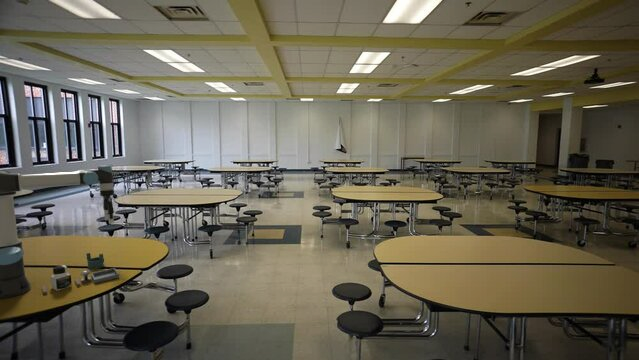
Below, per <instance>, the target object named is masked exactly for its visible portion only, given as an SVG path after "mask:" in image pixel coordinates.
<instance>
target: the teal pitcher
mask: <svg viewBox="0 0 639 360" xmlns="http://www.w3.org/2000/svg"><path fill="white" fill-rule="evenodd" d="M85 255H86V261H87V270H98V269H102V268H103V267H104V263H105V258H104V254H103V253H99V255H98V256H95V257H92V258H91V253H90V252H87V253H86V254H85Z"/></svg>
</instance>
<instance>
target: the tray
mask: <svg viewBox="0 0 639 360" xmlns="http://www.w3.org/2000/svg"><path fill="white" fill-rule="evenodd" d="M90 277H91V281H92V282H93V284H94V285H96V284H101V283H104V282H109V281H113V280H117V279H120V274H119V272H118V271H117V269H116V268H115V267H113V268H110V269H104V270H100V271H95V272H92V273H91V272H90Z"/></svg>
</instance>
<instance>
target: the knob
mask: <svg viewBox="0 0 639 360" xmlns="http://www.w3.org/2000/svg"><path fill="white" fill-rule="evenodd" d="M88 275H91V269H85V270H81V271H80V276H83V277H82V278H81V279H80V282H81V283H86V282H91V281H92V278H91V276H88Z"/></svg>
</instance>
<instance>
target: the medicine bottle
mask: <svg viewBox="0 0 639 360" xmlns="http://www.w3.org/2000/svg"><path fill="white" fill-rule="evenodd" d="M52 273H53V275H52V274H51V275H50V285H51V289H53V290H54V291H57V292H58V291H61V290H65V289H67V288H71V287H73V283H72V274H71V273H69V272H68V266H66V265H64V264H63V265H57V266H54V267H53V268H52Z"/></svg>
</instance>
